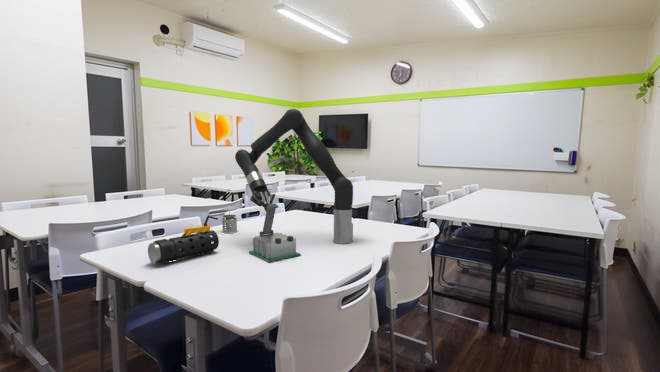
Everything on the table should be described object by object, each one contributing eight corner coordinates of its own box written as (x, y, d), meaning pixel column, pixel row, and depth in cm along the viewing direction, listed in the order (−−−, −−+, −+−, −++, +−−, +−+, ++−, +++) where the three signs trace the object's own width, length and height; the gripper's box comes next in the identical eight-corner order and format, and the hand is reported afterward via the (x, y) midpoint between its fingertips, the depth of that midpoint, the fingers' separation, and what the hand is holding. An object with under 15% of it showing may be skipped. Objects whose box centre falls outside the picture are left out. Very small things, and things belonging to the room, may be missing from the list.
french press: (229, 235, 195) (227, 190, 192) (215, 232, 201) (213, 189, 198) (242, 232, 203) (241, 188, 200) (228, 229, 209) (227, 187, 207)
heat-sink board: (279, 247, 172) (279, 227, 171) (301, 256, 158) (301, 235, 157) (249, 253, 162) (248, 232, 161) (269, 263, 148) (269, 240, 147)
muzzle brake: (219, 253, 162) (219, 231, 161) (158, 269, 140) (157, 243, 139) (207, 249, 168) (207, 228, 166) (147, 264, 146) (146, 239, 145)
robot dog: (220, 241, 183) (220, 215, 182) (184, 246, 172) (183, 219, 171) (217, 238, 188) (216, 213, 186) (181, 243, 177) (180, 217, 176)
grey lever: (272, 236, 164) (269, 232, 166) (278, 206, 158) (275, 203, 161) (265, 237, 162) (261, 233, 164) (270, 207, 156) (267, 204, 158)
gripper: (246, 178, 163) (259, 208, 154) (271, 177, 171) (285, 205, 163) (241, 189, 167) (253, 218, 159) (266, 187, 176) (279, 215, 167)
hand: (269, 212), depth 161 cm, fingers closed
